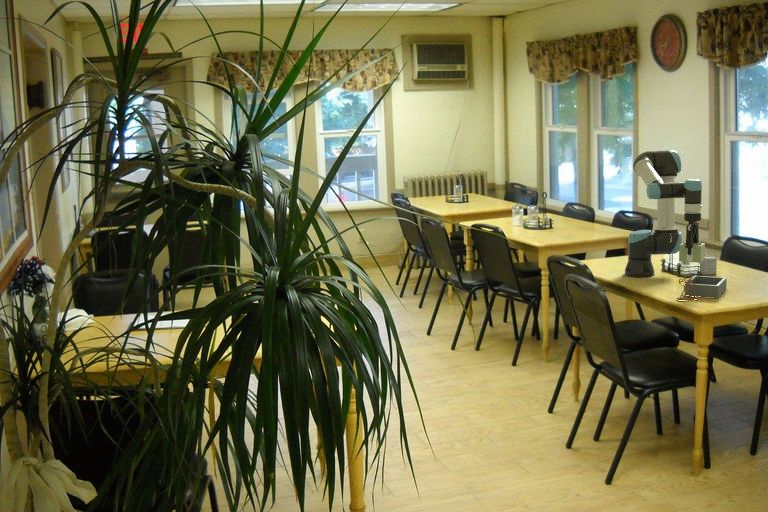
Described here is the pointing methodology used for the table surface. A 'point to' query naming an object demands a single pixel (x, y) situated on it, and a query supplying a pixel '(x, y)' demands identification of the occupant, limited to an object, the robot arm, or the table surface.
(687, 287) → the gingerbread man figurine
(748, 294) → the table surface
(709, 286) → the grey open rectangular box
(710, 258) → the medicine box
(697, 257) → the block
